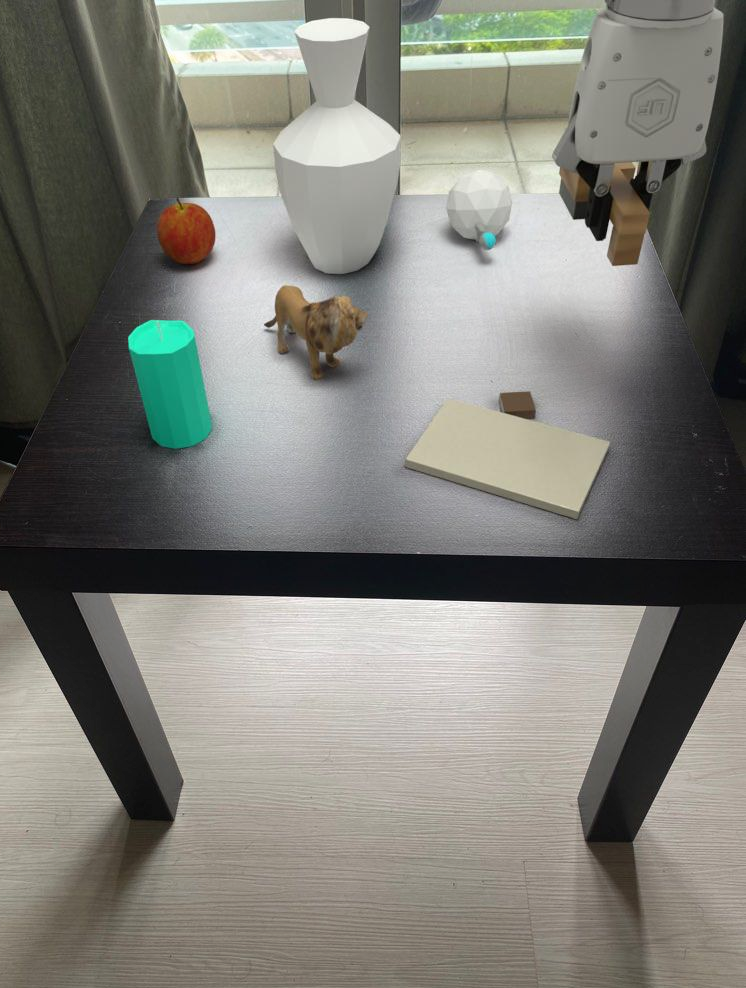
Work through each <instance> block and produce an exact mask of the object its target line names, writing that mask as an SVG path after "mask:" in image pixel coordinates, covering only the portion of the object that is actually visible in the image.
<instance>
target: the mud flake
mask: <svg viewBox="0 0 746 988" xmlns="http://www.w3.org/2000/svg"><path fill="white" fill-rule="evenodd" d="M498 403H499V407H500V412H502V413H506V414H509V415H513V416H517V417H520V418H524V419H535V417H536V412H537V409H536V406H535V402H534V399H533V395H532V392H531V391H510V392H509V391H507V392H506V391H505V392H499V395H498Z"/></svg>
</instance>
